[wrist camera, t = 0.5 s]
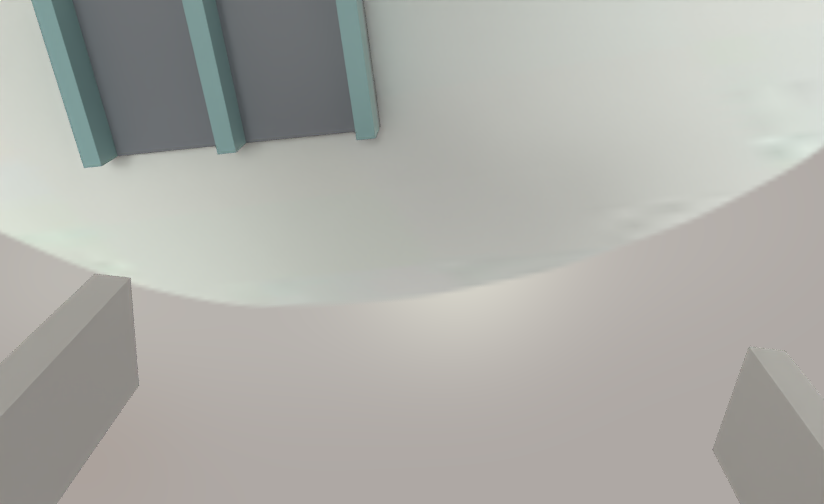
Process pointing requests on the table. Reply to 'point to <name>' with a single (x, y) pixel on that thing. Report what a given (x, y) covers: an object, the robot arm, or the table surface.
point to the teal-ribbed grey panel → (208, 72)
